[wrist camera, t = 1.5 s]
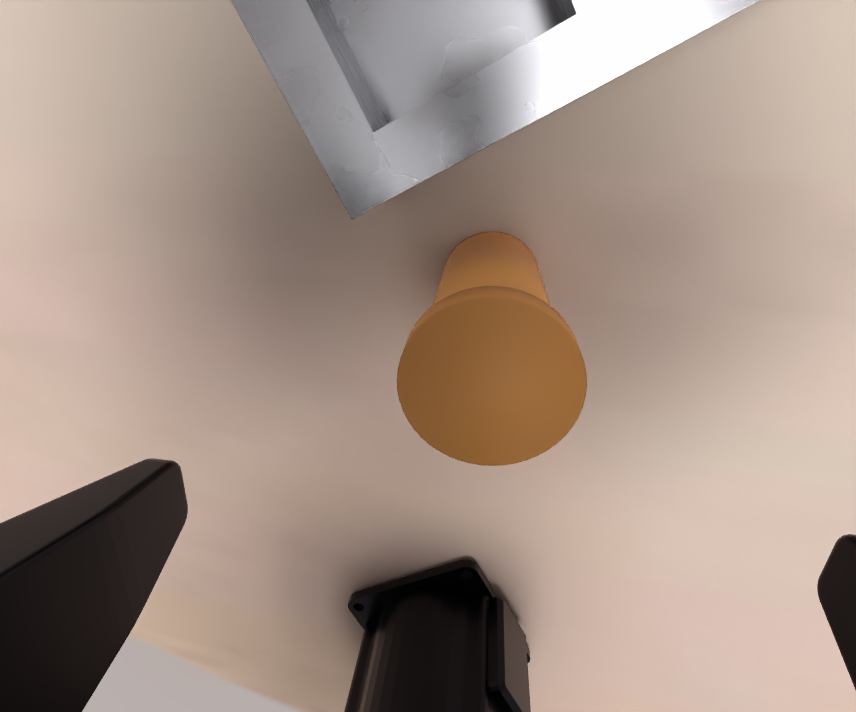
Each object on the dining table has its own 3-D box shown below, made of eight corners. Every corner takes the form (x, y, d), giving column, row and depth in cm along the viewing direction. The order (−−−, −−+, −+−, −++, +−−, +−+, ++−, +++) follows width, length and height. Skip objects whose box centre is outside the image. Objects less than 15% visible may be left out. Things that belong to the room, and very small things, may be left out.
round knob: (464, 348, 19) (448, 487, 12) (415, 253, 18) (363, 345, 11) (565, 305, 18) (613, 430, 11) (520, 201, 17) (542, 265, 9)
